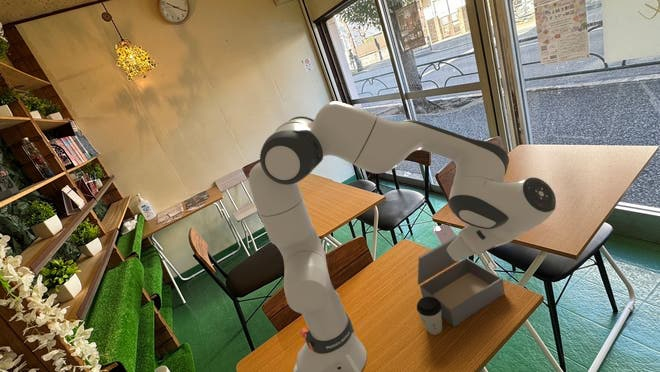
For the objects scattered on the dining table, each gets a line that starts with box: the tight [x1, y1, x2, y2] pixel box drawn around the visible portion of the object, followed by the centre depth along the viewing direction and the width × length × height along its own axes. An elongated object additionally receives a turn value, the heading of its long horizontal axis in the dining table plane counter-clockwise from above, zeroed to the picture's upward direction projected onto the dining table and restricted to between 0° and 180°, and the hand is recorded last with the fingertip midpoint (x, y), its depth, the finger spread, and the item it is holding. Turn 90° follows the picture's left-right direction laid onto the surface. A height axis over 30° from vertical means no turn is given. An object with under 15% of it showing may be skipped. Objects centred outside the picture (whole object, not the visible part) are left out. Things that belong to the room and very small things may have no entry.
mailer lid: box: [417, 234, 459, 285], centre depth 99 cm, size 20×14×1 cm
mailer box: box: [419, 257, 506, 328], centre depth 98 cm, size 20×14×6 cm
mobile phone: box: [432, 224, 458, 245], centre depth 131 cm, size 8×1×15 cm
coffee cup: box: [416, 297, 443, 336], centre depth 90 cm, size 7×7×10 cm
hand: (471, 243), depth 83 cm, fingers open, 8 cm apart
